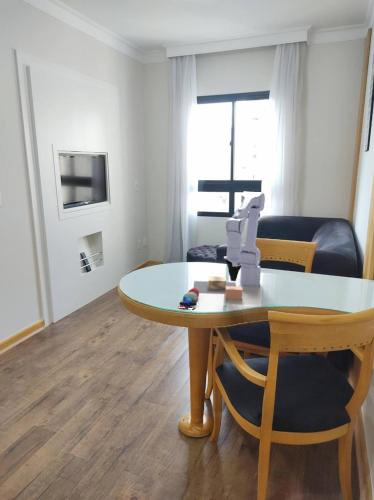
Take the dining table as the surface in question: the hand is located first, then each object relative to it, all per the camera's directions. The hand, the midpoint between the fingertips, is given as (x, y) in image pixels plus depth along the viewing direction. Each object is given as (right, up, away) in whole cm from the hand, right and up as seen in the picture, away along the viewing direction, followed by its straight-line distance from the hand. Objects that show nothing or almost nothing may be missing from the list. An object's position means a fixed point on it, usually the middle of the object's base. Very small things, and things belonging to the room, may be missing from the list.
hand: (232, 278), depth 154 cm
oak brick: (-5, -5, +15) cm, 17 cm away
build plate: (-6, -6, +15) cm, 17 cm away
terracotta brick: (+1, -9, +3) cm, 10 cm away
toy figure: (-18, -11, -2) cm, 21 cm away
